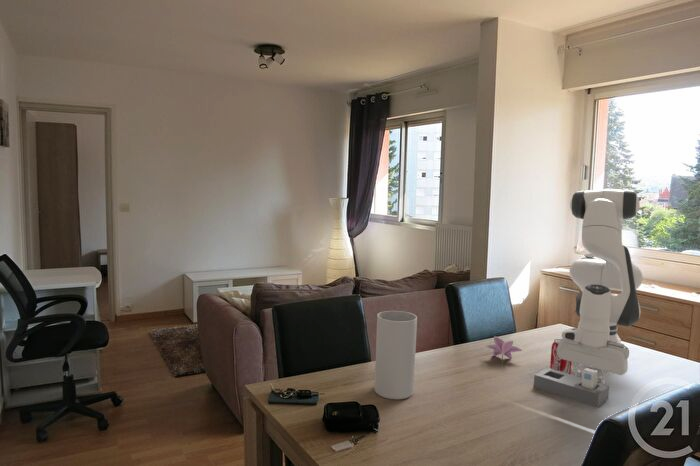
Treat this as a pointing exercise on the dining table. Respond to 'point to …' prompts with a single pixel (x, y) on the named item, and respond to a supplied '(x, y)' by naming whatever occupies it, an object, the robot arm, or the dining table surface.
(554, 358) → the soda can
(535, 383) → the socket block
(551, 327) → the dining table surface
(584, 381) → the plug
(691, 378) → the dining table surface
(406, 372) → the cylinder vase
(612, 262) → the robot arm
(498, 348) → the lily
